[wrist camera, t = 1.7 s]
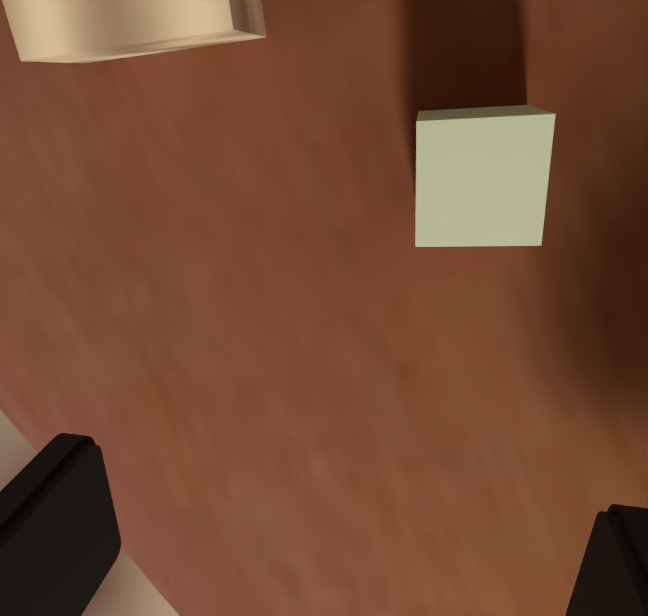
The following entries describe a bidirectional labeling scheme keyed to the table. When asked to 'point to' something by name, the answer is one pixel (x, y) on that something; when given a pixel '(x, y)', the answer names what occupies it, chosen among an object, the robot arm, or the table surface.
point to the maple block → (127, 27)
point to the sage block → (482, 175)
